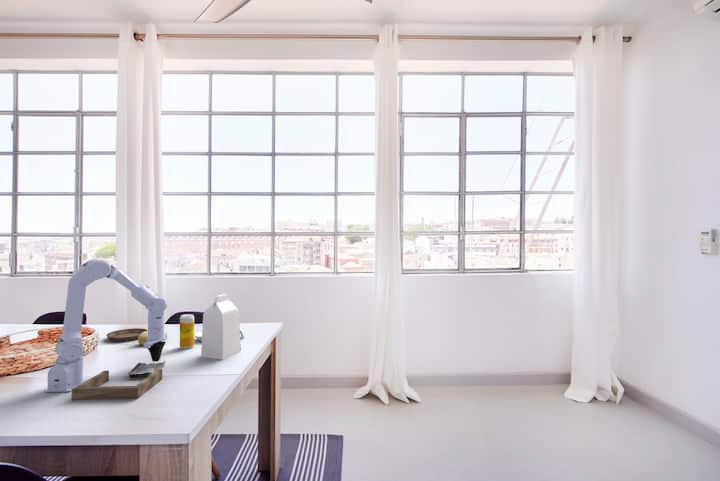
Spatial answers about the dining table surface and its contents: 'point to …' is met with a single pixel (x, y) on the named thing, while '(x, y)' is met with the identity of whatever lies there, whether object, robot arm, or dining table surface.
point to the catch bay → (113, 388)
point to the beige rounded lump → (143, 338)
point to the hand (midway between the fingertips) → (156, 360)
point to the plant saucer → (125, 334)
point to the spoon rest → (199, 334)
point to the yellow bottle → (186, 331)
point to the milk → (221, 329)
